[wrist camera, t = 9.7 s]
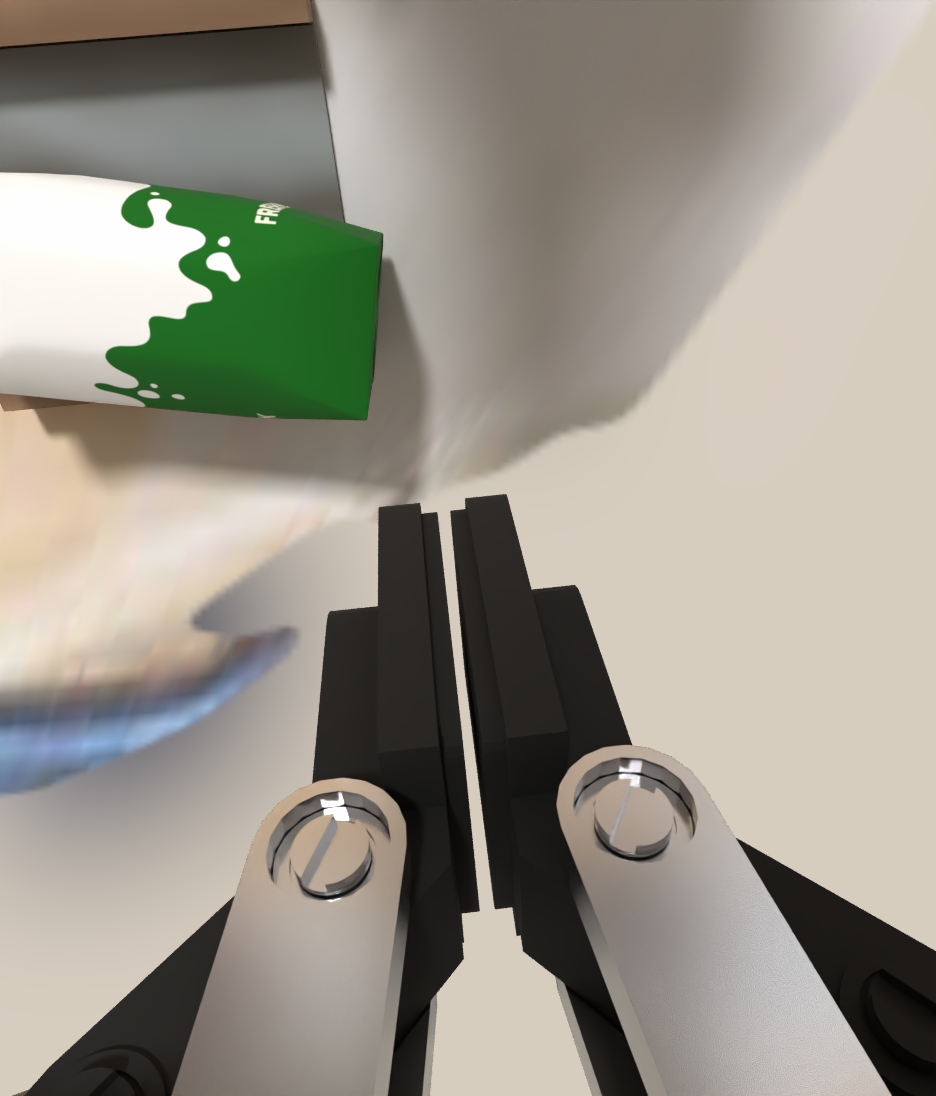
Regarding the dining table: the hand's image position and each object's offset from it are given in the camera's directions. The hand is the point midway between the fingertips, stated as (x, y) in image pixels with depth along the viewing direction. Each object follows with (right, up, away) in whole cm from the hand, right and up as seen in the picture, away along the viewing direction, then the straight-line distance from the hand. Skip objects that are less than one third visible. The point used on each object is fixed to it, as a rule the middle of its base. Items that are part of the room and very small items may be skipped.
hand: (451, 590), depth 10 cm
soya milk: (-4, +11, +24) cm, 26 cm away
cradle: (-15, +17, +25) cm, 33 cm away
